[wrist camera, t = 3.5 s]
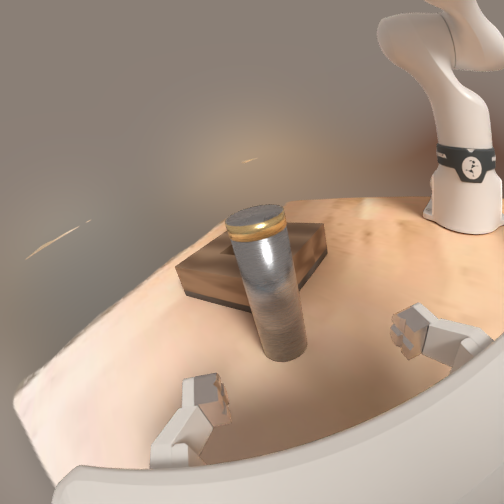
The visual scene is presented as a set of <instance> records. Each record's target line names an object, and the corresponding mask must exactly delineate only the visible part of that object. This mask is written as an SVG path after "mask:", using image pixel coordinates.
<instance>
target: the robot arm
mask: <svg viewBox="0 0 504 504" xmlns="http://www.w3.org/2000/svg"><path fill="white" fill-rule="evenodd" d="M424 1H425V2H427V3H429V4H431V5H434V6H436V7H438V8H440V9H442V10H443V11H442V12H441V13H437V14H435V13H403V14H399V15H394V16H390V17H386V18H383V19H382V20H381V21H380V23H379V26H378V29H377V39H378V43H379V46H380V48H381V50H382V51H383V53H384V54H385V56H386V57H387V58H388V59H389V60H390V61H391V62H393V63H394V64H395V65H397V66H399V67H400V68H402V69H404V70H405V71H407V72H408V73H409V74H410V75H412V76H413V77H414V78H415V79H416V80H417V81H418V83H419V84H420V85H421V86H422V88H423V89H424V91H425V92H426V94H427V96H428V98H429V100H430V103H431V106H432V110H433V113H434V118H435V122H436V128H437V135H438V143H437V158H438V163H439V167H438V169H437V170H436V171H435V172H434V174H433V175H432V178H431V179H430V188H431V189H432V194H431V199H430V201H429V203H428V204H427V206H426V208H425V209H424V211H423V217H424V218H426V219H429V220H432V221H435V222H437V223H438V224H440V225H441V226H443V227H445V228H448V229H450V230H454V231H457V232H462V233H469V234H485V233H490V232H493V231H495V230H496V229H497V228H498V227H499V226H502V225H504V214H503V213H502V181H501V179H500V178H499V177H498V176H497V174H496V173H495V170H494V168H495V160H496V158H495V151H494V148H493V147H492V137H491V126H490V117H489V110H488V108H487V106H486V104H485V102H484V101H483V99H482V98H481V97H480V96H479V95H477V94H476V93H475V92H473V91H471V90H470V89H467V88H466V87H464V86H463V85H461V84H460V82H459V81H458V80H457V79H456V77H455V76H454V74H453V72H452V70H453V69H454V70H469V71H479V72H486V71H495V70H502V69H503V68H504V38H503V37H502V35H501V34H500V32H499V31H498V29H497V28H496V27H495V26H494V25H493V24H491V23H490V22H489V21H488V20H487V19H486V17H485V16H484V15H483V14H482V12H481V10H480V8H479V6H478V4H477V2H476V0H424ZM392 322H393V323H394V324H393V325H392V327H391V331H390V334H391V338H392V341H393V343H394V344H395V345H396V346H398V347H401V352H402V354H403V355H404V356H405V357H406V358H407V360H410V359H412V358H414V357H416V356H418V355H420V354H423V355H425V356H427V357H430V358H432V359H434V360H436V361H439V362H441V363H443V364H446V365H448V366H450V367H452V368H451V371H450V373H449V375H448V376H447V377H445V378H444V379H442V380H441V381H439V382H438V383H436V384H435V385H433V386H431V387H430V388H428V389H427V390H425V391H423V392H421V393H420V394H418V395H416V396H415V397H413V398H411V399H409V400H407V401H406V402H404V403H402V404H400V405H398V406H396V407H394V408H392V409H390V410H388V411H386V412H384V413H382V414H380V415H378V416H376V417H374V418H371V419H369V420H367V421H365V422H363V423H360V424H358V425H356V426H353V427H351V428H348V429H346V430H343V431H341V432H338V433H335V434H333V435H330V436H327V437H325V438H322V439H319V440H316V441H313V442H310V443H307V444H303V445H300V446H297V447H293V448H290V449H286V450H282V451H279V452H275V453H271V454H266V455H262V456H258V457H253V458H248V459H243V460H238V461H232V462H226V463H219V464H212V465H207V464H206V463H205V462H204V461H203V460H202V459H201V458H200V457H199V455H200V453H201V452H202V450H203V448H204V446H205V444H206V442H207V440H208V438H209V436H210V434H211V432H212V430H213V427H216V426H221V425H226V424H230V423H232V421H231V414H230V410H229V408H228V404H229V399H228V395H227V391H226V389H225V386H224V384H222V383H221V380H220V376H219V374H218V373H212V374H207V375H201V376H196V377H191V378H185V379H184V380H183V383H182V408H179V409H178V410H177V411H176V413H175V414H174V415H173V417H172V418H171V419H170V421H169V422H168V423H167V425H166V426H165V427H164V429H163V430H162V431H161V433H160V434H159V435H158V437H157V438H156V439H155V441H154V442H153V443H152V445H151V455H150V469H124V468H107V467H96V466H87V465H79V466H77V467H75V468H74V469H72V470H71V471H70V472H69V473H68V474H67V475H66V476H65V477H64V478H63V479H62V480H61V481H60V482H59V483H58V485H57V486H56V489H55V491H54V494H53V498H52V503H51V504H504V333H502V334H501V335H500V336H499V337H498V338H497V339H496V340H495V341H494V340H493V339H491V338H490V337H489V336H488V335H487V334H486V333H485V332H484V331H483V330H481V329H480V328H478V327H474V326H470V325H466V324H462V323H457V322H453V321H449V320H445V319H438V318H437V317H436V316H434V315H433V314H432V313H431V312H430V311H429V310H428V309H427V308H425V307H424V306H423V305H422V304H421V303H416V304H414V305H412V306H410V307H408V308H406V309H403V310H401V311H399V312H397V313H395V314H393V316H392Z"/></svg>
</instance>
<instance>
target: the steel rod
mask: <svg viewBox="0 0 504 504" xmlns="http://www.w3.org/2000/svg"><path fill="white" fill-rule="evenodd" d="M225 224H226V228H227V231H228V235H229V238H230V239H231V243H232V246H233V250H234V253H235V257H236V260H237V264H238V267H239V270H240V274H241V277H242V281H243V284H244V287H245V291H246V294H247V298H248V301H249V304H250V308H251V311H252V314H253V318H254V321H255V324H256V327H257V331H258V334H259V337H260V341H261V344H262V347H263V350H264V353H265V355H266V356H267V357H268V358H269V359H271V360H273V361H277V362H286V361H291V360H293V359H296V358H297V357H299V356H300V355H302V354H303V352H304V351H305V349H306V347H307V338H306V332H305V326H304V319H303V313H302V307H301V302H300V296H299V290H298V284H297V279H296V273H295V268H294V262H293V257H292V252H291V247H290V241H289V236H288V231H287V226H286V225H287V223H286V218H285V213H284V208H283V207H282V206H280V205H274V204H268V205H259V206H254V207H250V208H247V209H243V210H241V211H238V212H236V213H234V214H232V215H231V216H229V217H228V218H227V219H226V220H225Z"/></svg>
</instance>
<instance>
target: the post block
mask: <svg viewBox="0 0 504 504" xmlns="http://www.w3.org/2000/svg"><path fill="white" fill-rule="evenodd" d="M286 226H287V231H288V236H289V241H290V247H291V252H292V257H293V262H294V268H295V273H296V279H297V284H298V290H299V291H300V289H301V288H302V287H303V285H304V284H305V283H306V281H307V280H308V279H309V278H310V276H311V275H312V274H313V272H314V271H315V270H316V268H317V267H318V266H319V264H320V263H321V261H322V260H323V259H324V257H325V256H326V255H327V245H326V237H325V230H324V224H322V223H287V225H286ZM175 269H176V271H177V274H178V276H179V279H180V281H181V284H182V286H183V289H184V291H185V293H186V295H187V296H190V297H194V298H197V299H201V300H205V301H208V302H212V303H216V304H220V305H223V306H227V307H231V308H235V309H239V310H243V311H247V312H251V313H252V311H251V308H250V304H249V301H248V298H247V294H246V291H245V287H244V284H243V281H242V277H241V274H240V270H239V267H238V264H237V260H236V257H235V253H234V250H233V246H232V243H231V239H230V238H229V235H228V231H226V232H225V233H223V234H222V235H220V236H219V237H217V238H216V239H214V240H213V241H211V242H210V243H208V244H207V245H206V246H204V247H203V248H201V249H200V250H198V251H197V252H195V253H194V254H192V255H191V256H190V257H188V258H187V259H185V260H184V261H182V262H181V263H180V264H178V265H177V266H175Z"/></svg>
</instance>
